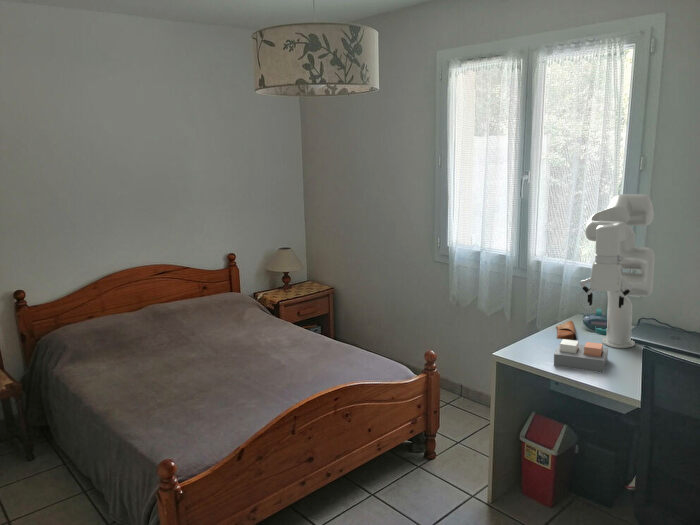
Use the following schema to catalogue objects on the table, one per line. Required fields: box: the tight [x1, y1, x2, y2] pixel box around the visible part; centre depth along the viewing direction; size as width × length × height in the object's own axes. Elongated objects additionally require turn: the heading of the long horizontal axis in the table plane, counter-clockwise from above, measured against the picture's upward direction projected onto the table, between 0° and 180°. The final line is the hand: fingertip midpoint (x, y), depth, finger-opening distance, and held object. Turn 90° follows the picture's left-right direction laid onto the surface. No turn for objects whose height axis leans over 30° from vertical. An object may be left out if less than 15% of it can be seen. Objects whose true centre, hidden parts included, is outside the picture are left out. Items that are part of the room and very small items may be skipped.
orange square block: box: [584, 341, 604, 357], centre depth 212 cm, size 6×6×4 cm
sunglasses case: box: [555, 320, 577, 341], centre depth 250 cm, size 18×7×7 cm, turn 162°
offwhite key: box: [559, 339, 580, 353], centre depth 217 cm, size 6×6×4 cm
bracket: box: [594, 308, 607, 336], centre depth 252 cm, size 18×7×8 cm, turn 155°
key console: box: [553, 343, 609, 374], centre depth 215 cm, size 14×18×5 cm
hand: (605, 305), depth 194 cm, fingers open, 9 cm apart
